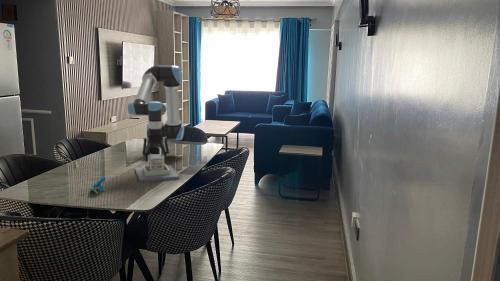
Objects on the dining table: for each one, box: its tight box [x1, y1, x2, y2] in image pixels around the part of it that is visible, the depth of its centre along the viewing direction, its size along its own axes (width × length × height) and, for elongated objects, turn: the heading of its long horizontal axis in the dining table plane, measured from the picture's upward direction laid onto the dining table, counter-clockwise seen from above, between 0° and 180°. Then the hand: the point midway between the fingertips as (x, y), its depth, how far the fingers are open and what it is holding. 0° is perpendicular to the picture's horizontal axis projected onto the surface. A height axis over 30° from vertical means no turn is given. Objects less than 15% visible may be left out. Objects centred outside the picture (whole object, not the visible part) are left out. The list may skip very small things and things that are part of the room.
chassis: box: [134, 163, 180, 183], centre depth 228 cm, size 26×22×4 cm
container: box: [148, 147, 165, 171], centre depth 226 cm, size 8×8×13 cm
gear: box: [88, 176, 107, 195], centre depth 195 cm, size 11×6×10 cm
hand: (155, 165), depth 227 cm, fingers closed on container, 8 cm apart
